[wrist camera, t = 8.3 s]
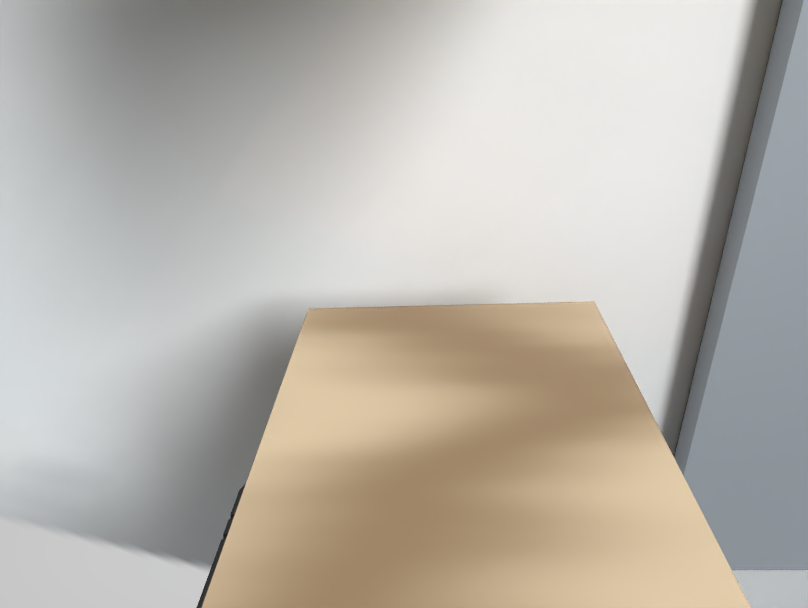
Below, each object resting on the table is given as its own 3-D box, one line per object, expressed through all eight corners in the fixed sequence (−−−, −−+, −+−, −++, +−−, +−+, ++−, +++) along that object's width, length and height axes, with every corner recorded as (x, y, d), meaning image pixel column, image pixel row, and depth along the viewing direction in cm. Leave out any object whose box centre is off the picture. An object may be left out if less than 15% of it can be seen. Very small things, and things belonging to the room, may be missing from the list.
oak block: (594, 301, 10) (773, 651, 5) (560, 565, 14) (644, 936, 8) (308, 309, 10) (187, 647, 5) (346, 565, 14) (296, 926, 9)
